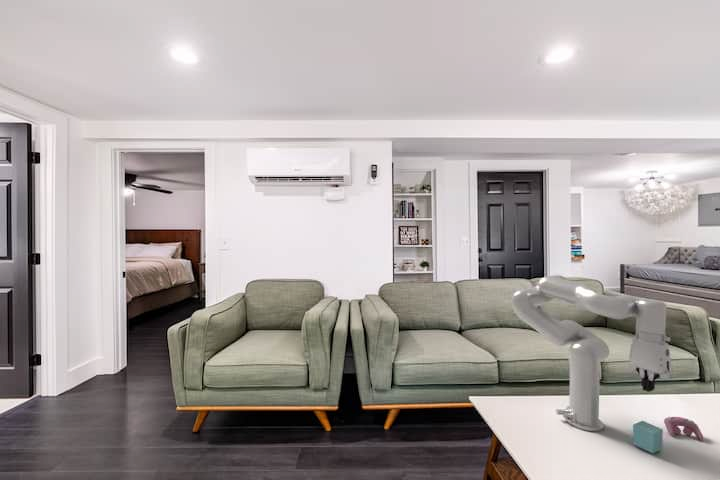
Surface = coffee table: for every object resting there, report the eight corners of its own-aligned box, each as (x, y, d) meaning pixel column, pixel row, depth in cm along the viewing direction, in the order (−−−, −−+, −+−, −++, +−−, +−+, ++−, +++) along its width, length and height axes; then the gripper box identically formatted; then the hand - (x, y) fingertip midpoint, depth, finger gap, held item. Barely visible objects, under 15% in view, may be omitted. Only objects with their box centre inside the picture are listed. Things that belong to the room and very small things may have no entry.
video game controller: (698, 441, 122) (693, 419, 125) (706, 442, 118) (700, 419, 121) (664, 435, 125) (660, 414, 128) (671, 436, 121) (666, 414, 124)
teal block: (653, 453, 111) (653, 433, 111) (632, 443, 116) (633, 424, 116) (662, 448, 113) (662, 429, 113) (641, 439, 119) (642, 420, 118)
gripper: (684, 341, 109) (681, 398, 109) (630, 329, 122) (628, 379, 123) (672, 344, 106) (670, 402, 106) (618, 331, 119) (616, 383, 120)
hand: (647, 390), depth 114 cm, fingers closed
